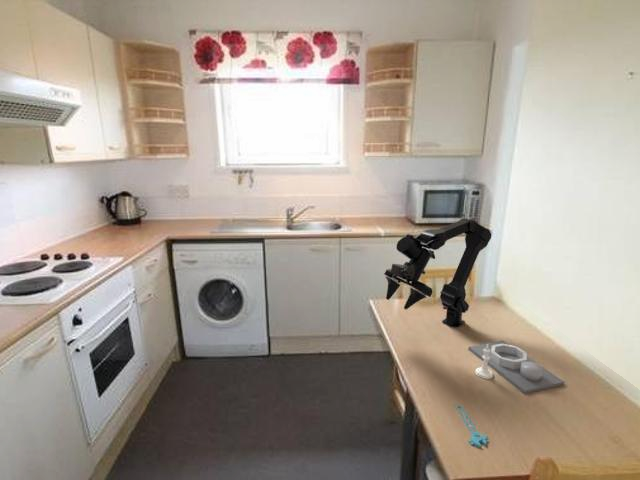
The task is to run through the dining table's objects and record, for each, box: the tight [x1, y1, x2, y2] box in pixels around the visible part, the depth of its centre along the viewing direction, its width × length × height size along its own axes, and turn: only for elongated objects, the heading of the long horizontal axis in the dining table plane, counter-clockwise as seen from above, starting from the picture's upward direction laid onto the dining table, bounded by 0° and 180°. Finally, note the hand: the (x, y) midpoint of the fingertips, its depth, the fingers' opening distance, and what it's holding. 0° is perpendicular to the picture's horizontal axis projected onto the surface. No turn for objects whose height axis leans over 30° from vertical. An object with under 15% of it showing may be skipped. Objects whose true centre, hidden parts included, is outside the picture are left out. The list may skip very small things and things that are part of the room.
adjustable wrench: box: [455, 405, 489, 448], centre depth 91 cm, size 14×1×5 cm
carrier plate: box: [467, 340, 565, 395], centre depth 115 cm, size 24×14×4 cm, turn 16°
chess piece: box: [475, 343, 494, 380], centre depth 110 cm, size 5×5×10 cm
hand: (395, 304), depth 126 cm, fingers open, 9 cm apart
